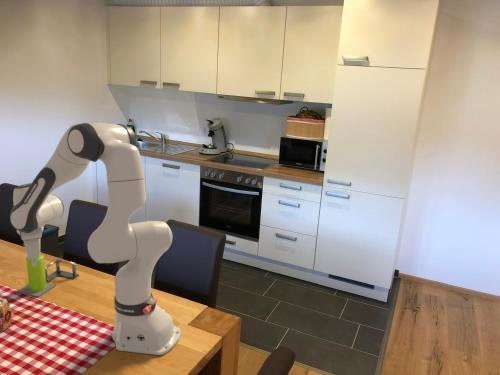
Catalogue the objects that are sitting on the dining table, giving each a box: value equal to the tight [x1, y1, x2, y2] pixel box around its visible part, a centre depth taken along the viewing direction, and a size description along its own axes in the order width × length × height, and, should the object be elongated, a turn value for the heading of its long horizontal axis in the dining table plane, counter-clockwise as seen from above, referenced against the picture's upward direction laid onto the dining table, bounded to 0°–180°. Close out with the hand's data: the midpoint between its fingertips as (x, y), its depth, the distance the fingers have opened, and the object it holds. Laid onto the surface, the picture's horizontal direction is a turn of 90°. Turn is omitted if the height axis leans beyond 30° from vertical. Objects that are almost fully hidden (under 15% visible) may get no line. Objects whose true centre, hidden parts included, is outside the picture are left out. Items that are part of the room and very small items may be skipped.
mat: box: [16, 282, 57, 299], centre depth 161 cm, size 10×9×1 cm
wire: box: [45, 259, 80, 283], centre depth 169 cm, size 10×9×6 cm
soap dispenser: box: [22, 243, 47, 292], centre depth 158 cm, size 6×7×20 cm
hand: (33, 260), depth 157 cm, fingers open, 8 cm apart
